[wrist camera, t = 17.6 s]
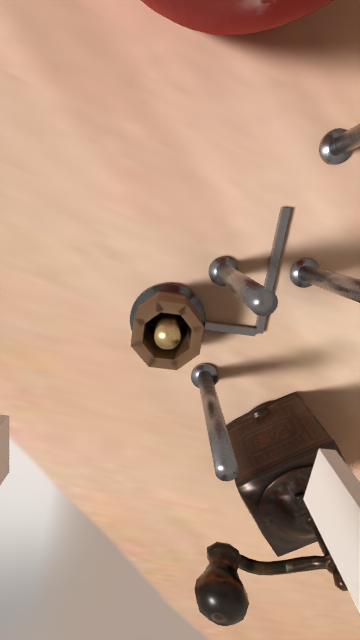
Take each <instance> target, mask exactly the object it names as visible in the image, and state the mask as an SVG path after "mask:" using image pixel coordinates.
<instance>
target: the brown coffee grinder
mask: <svg viewBox="0 0 360 640" xmlns="http://www.w3.org/2000/svg"><path fill="white" fill-rule="evenodd" d="M226 427H227V431H228V434H229V438H230V441H231V445H232V448H233V452H234V455H235V459H236V462H237V466H238V469H239V472H238V475H237V477H236V478H234V479H235V483H236V486H237V488H238V491H239V493H240V496H241V498H242V500H243V501H244V503H245V505H246V507H247V508H248V510H249V512H250V513H251V515H252V517H253V518H254V520H255V522H256V523H257V525H258V527H259V529H260V531H261V533H262V534H263V536H264V537H265V539H266V540H267V541H268V543H269V544H270V546H271V547H272V549H273V550H274V552H275V553H276V555H277V556H278V557H279V556H282V555H284V554H287V553H289V552H292V551H295V550H297V549H300V548H302V547H304V546H307V545H309V544H312V543H314V542H316V541H318V543H319V545H320V548H321V550H322V552H323V554H324V556H307V557H298V558H293V559H288V560H281V561H272V562H263V561H256V560H253V559H250V558H247V557H245V556H243V555H240V554H239V551H238V550H237V549H236V548H234V547H233V546H231V545H230V544H227V543H221V542H216V543H214V544H213V545H211V546H209V547H207V558H208V560H209V565H208V567H207V568H206V570H205V571H204V573H203V574H202V575H201V576H200V577H199V578H198V579H197V580H196V585H195V594H196V600H197V604H198V607H199V610H200V612H201V613H202V614H203V615H204V616H205V617H206V618H207V619H209V620H210V621H212V622H214V623H216V624H218V625H221V626H229V625H233V624H236V623H238V622H240V621H242V620H243V619H244V617H245V615H246V612H247V608H248V605H249V601H248V596H247V593H246V591H245V589H244V586H243V584H242V582H241V580H240V579H239V576H238V573H237V569H238V568H240V569H242V570H244V571H246V572H249V573H253V574H257V575H279V574H289V573H295V572H302V571H309V570H317V569H327V570H328V571H329V572H330V573H332V574H333V578H334V582H335V586H337V587H338V588H339V589H341V590H342V591H348V589H347V586H346V584H345V582H344V580H343V578H342V576H341V574H340V572H339V570H338V568H337V566H336V564H335V562H334V560H333V558H332V556H331V554H330V552H329V550H328V548H327V546H326V544H325V542H324V540H323V538H322V536H321V534H320V532H319V530H318V528H317V526H316V524H315V522H314V520H313V518H312V516H311V514H310V512H309V510H308V508H307V506H306V504H305V502H304V500H303V499H304V495H305V492H306V489H307V485H308V482H309V479H310V476H311V472H312V469H313V466H314V463H315V459H316V456H317V453H318V450H319V448H320V449H330V450H336V451H337V453H338V454H339V455H340V457H341V458H342V459H343V461H344V462H345V463H346V461H345V459H344V457H343V455H342V453H341V451H340V449H339V447H338V446H337V444H336V443H335V442H334V440H333V439H332V438H331V437H330V436H329V435H328V433H327V432H326V431H325V429H324V428H323V427H322V425H321V424H320V423H319V422H318V420H317V419H316V418H315V416H314V415H313V414H312V413H311V411H310V410H309V409H308V408H307V406H306V405H305V404H304V402H303V400H302V398H301V397H300V396H299V395H298V394H297V393H296V392H295V393H293V394H290V395H288V396H285V397H283V398H280V399H278V400H275V401H273V402H270V403H268V404H265V405H262V406H260V407H257V408H255V409H253V410H252V411H250V412H249V413H247V414H245V415H244V416H242V417H240V418H238V419H236V420H234V421H232V422H231V423H229V424H228V425H227V426H226ZM346 464H347V463H346Z"/></svg>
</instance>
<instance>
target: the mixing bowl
mask: <svg viewBox="0 0 360 640" xmlns="http://www.w3.org/2000/svg"><path fill="white" fill-rule="evenodd" d="M141 1H142V2H144V3H145V4H146V5H147V6H148V7H150V8H151V9H153V10H154V11H155V12H157V13H159V14H160V15H162V16H164V17H166V18H168V19H169V20H171V21H173V22H175V23H177V24H179V25H181V26H184V27H186V28H189V29H192V30H196V31H200V32H205V33H209V34H215V35H241V34H250V33H256V32H260V31H264V30H267V29H271V28H275V27H278V26H281V25H284V24H286V23H289V22H292V21H294V20H297V19H299V18H301V17H303V16H305V15H307V14H309V13H311V12H313V11H315V10H317V9H319V8H320V7H322V6H324V5H326V4H327V3H329V2H331V1H333V0H141Z"/></svg>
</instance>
